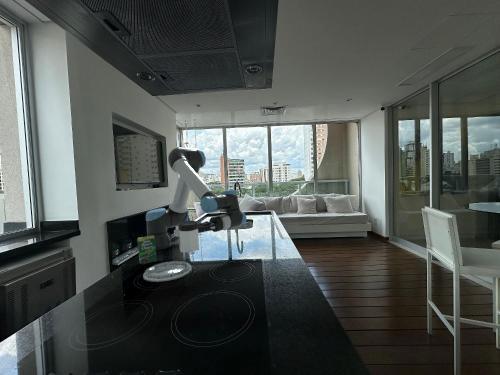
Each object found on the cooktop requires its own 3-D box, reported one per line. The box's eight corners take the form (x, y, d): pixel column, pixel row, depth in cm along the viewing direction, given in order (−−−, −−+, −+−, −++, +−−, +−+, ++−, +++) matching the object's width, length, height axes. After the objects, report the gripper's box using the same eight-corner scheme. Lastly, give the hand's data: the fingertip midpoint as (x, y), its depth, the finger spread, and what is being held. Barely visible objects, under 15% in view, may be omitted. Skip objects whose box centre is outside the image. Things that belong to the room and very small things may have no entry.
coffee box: (139, 265, 125) (137, 238, 125) (139, 263, 128) (137, 237, 127) (156, 261, 129) (154, 235, 128) (156, 260, 131) (154, 234, 131)
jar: (190, 244, 119) (189, 219, 118) (202, 248, 114) (201, 221, 113) (174, 250, 112) (173, 223, 111) (187, 254, 107) (185, 226, 106)
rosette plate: (137, 273, 113) (136, 269, 113) (179, 262, 126) (179, 257, 126) (153, 286, 97) (152, 281, 97) (199, 271, 110) (199, 266, 110)
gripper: (228, 232, 123) (183, 244, 107) (212, 228, 134) (169, 239, 118) (227, 216, 123) (182, 226, 107) (211, 214, 133) (167, 223, 118)
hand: (175, 233), depth 113 cm, fingers closed on jar
